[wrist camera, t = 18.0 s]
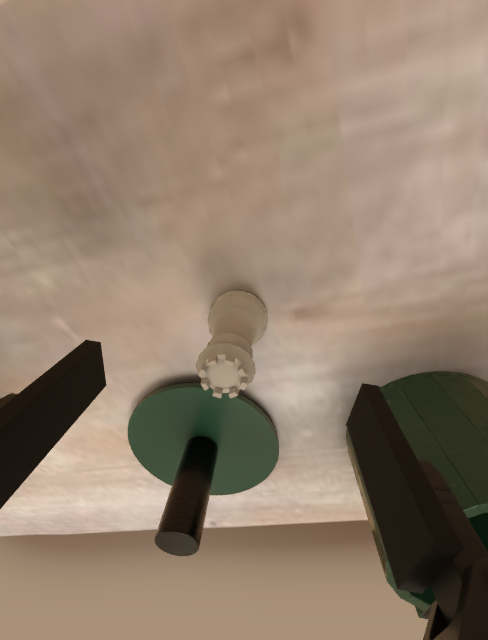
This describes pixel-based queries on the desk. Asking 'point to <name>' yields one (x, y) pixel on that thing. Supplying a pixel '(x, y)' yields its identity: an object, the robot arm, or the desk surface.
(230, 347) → the rook chess piece
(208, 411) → the lid
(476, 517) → the pot
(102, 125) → the desk surface
